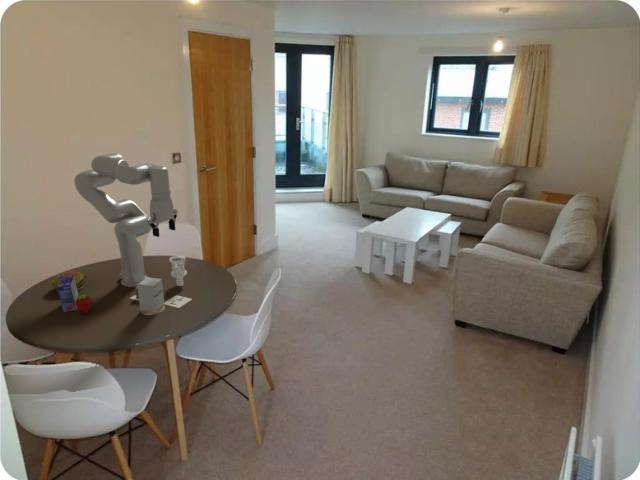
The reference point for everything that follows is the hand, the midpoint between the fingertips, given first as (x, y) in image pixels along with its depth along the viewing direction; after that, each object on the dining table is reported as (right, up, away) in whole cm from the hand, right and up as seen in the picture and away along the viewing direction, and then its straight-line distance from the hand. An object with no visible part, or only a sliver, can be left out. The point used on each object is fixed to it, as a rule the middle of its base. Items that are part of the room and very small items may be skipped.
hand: (164, 232), depth 193 cm
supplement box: (-3, -33, -6) cm, 33 cm away
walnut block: (-11, -29, +5) cm, 31 cm away
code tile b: (-11, -29, +5) cm, 31 cm away
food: (-48, -26, +11) cm, 56 cm away
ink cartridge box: (-39, -32, -5) cm, 51 cm away
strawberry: (-29, -34, -10) cm, 46 cm away
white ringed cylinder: (+2, -25, +16) cm, 30 cm away
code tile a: (+6, -31, +1) cm, 31 cm away
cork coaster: (-3, -33, -6) cm, 34 cm away
